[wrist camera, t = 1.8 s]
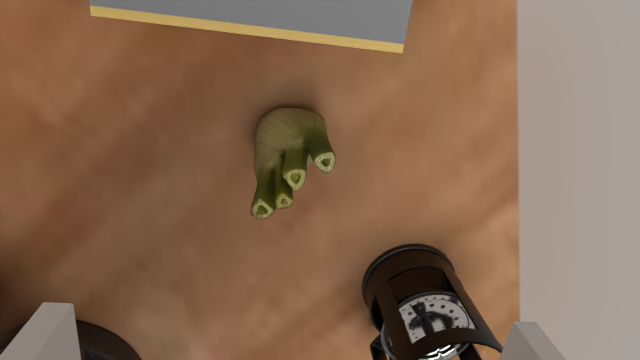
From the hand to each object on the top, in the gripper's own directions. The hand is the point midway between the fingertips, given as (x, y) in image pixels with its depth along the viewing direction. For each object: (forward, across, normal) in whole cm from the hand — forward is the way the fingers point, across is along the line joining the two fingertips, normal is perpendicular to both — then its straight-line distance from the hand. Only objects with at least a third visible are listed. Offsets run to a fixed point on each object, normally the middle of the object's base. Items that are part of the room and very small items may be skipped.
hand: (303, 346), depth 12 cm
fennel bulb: (+23, 0, 0) cm, 23 cm away
